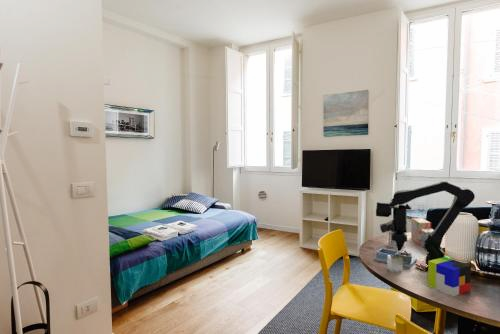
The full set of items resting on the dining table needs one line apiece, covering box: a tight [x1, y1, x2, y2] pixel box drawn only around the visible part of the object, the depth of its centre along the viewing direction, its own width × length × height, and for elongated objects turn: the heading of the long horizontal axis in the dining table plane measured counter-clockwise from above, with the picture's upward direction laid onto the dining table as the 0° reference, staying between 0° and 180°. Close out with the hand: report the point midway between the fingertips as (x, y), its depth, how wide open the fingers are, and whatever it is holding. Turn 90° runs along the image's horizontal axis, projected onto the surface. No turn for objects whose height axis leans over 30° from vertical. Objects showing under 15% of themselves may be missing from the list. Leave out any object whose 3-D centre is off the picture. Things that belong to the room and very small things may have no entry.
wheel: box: [398, 251, 413, 262], centre depth 145 cm, size 6×6×2 cm
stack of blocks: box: [410, 217, 435, 249], centre depth 174 cm, size 21×6×12 cm, turn 171°
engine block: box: [386, 254, 404, 273], centre depth 139 cm, size 5×4×7 cm
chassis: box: [374, 247, 418, 269], centre depth 150 cm, size 16×11×4 cm
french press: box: [386, 217, 407, 249], centre depth 172 cm, size 10×12×25 cm
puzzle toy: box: [427, 256, 472, 297], centre depth 120 cm, size 10×10×10 cm
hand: (399, 250), depth 146 cm, fingers closed
